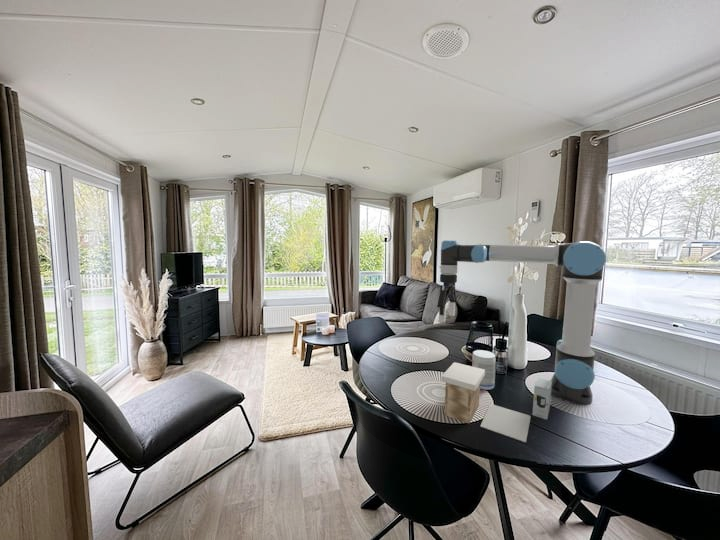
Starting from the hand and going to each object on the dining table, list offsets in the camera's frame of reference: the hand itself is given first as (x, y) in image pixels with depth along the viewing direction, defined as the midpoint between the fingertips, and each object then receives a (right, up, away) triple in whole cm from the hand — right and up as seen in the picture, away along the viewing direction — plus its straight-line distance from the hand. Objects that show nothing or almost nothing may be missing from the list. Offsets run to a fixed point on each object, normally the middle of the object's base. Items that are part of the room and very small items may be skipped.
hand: (446, 318), depth 138 cm
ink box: (+28, -31, -27) cm, 50 cm away
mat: (+12, -32, -33) cm, 47 cm away
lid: (-2, -18, -27) cm, 33 cm away
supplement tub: (+14, -29, -6) cm, 33 cm away
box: (-2, -31, -26) cm, 40 cm away
